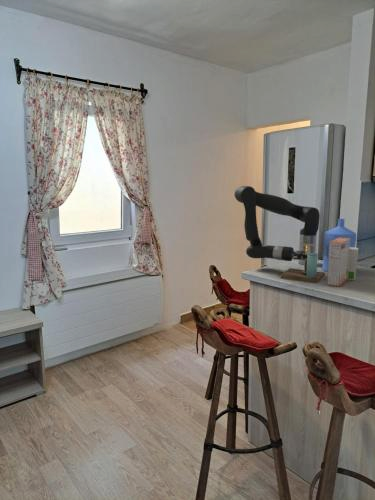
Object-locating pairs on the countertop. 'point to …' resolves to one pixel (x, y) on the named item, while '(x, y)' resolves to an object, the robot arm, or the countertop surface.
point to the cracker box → (338, 261)
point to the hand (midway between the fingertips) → (316, 256)
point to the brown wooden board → (301, 275)
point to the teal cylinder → (311, 265)
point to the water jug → (334, 234)
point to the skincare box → (352, 263)
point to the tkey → (307, 250)
